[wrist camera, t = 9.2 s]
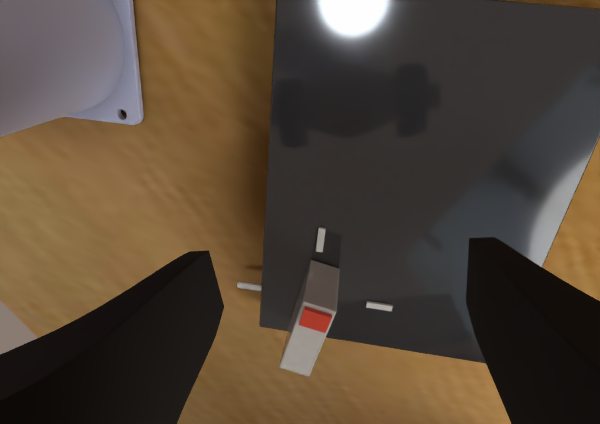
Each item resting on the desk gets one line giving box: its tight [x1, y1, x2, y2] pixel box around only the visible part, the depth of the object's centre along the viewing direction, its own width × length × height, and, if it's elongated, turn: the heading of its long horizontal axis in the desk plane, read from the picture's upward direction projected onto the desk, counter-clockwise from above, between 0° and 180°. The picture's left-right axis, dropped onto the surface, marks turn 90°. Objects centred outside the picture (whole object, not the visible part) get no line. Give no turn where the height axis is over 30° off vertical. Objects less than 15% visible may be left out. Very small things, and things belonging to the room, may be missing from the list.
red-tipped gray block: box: [279, 260, 340, 376], centre depth 20 cm, size 4×2×4 cm, turn 164°
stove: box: [237, 0, 600, 363], centre depth 20 cm, size 15×19×2 cm
